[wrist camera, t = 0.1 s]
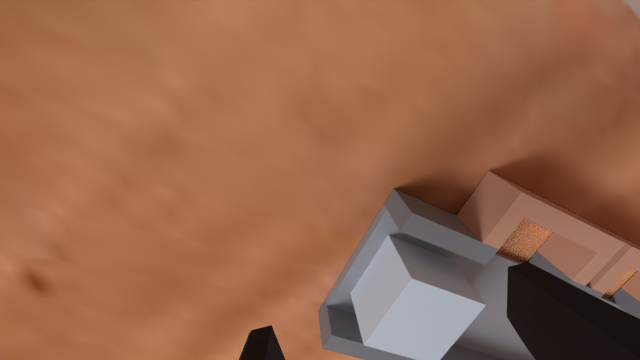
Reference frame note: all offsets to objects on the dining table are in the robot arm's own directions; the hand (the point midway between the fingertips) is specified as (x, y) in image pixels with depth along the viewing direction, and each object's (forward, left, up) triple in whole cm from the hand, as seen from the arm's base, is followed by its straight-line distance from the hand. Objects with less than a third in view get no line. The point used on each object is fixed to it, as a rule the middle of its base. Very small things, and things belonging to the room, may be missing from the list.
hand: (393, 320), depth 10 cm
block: (-8, -2, -10) cm, 12 cm away
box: (-12, -9, -10) cm, 18 cm away
